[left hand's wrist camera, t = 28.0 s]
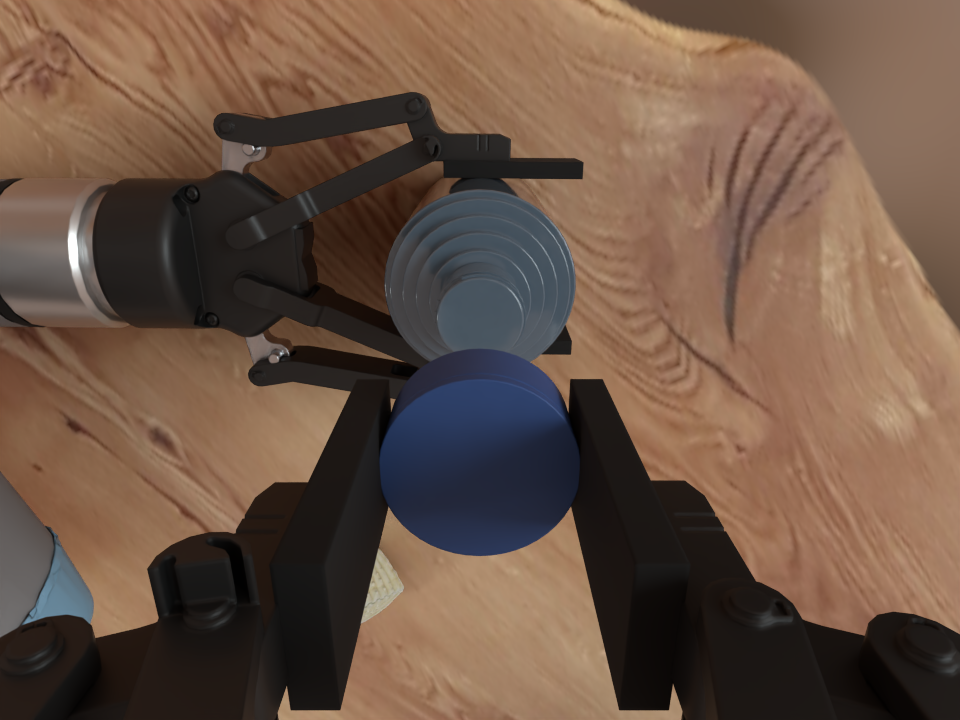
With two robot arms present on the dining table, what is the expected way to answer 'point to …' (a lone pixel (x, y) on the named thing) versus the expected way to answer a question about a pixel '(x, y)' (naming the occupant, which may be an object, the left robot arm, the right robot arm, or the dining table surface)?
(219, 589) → the left robot arm
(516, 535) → the cap
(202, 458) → the dining table surface
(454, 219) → the bottle
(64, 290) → the right robot arm
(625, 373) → the dining table surface
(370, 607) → the seashell
